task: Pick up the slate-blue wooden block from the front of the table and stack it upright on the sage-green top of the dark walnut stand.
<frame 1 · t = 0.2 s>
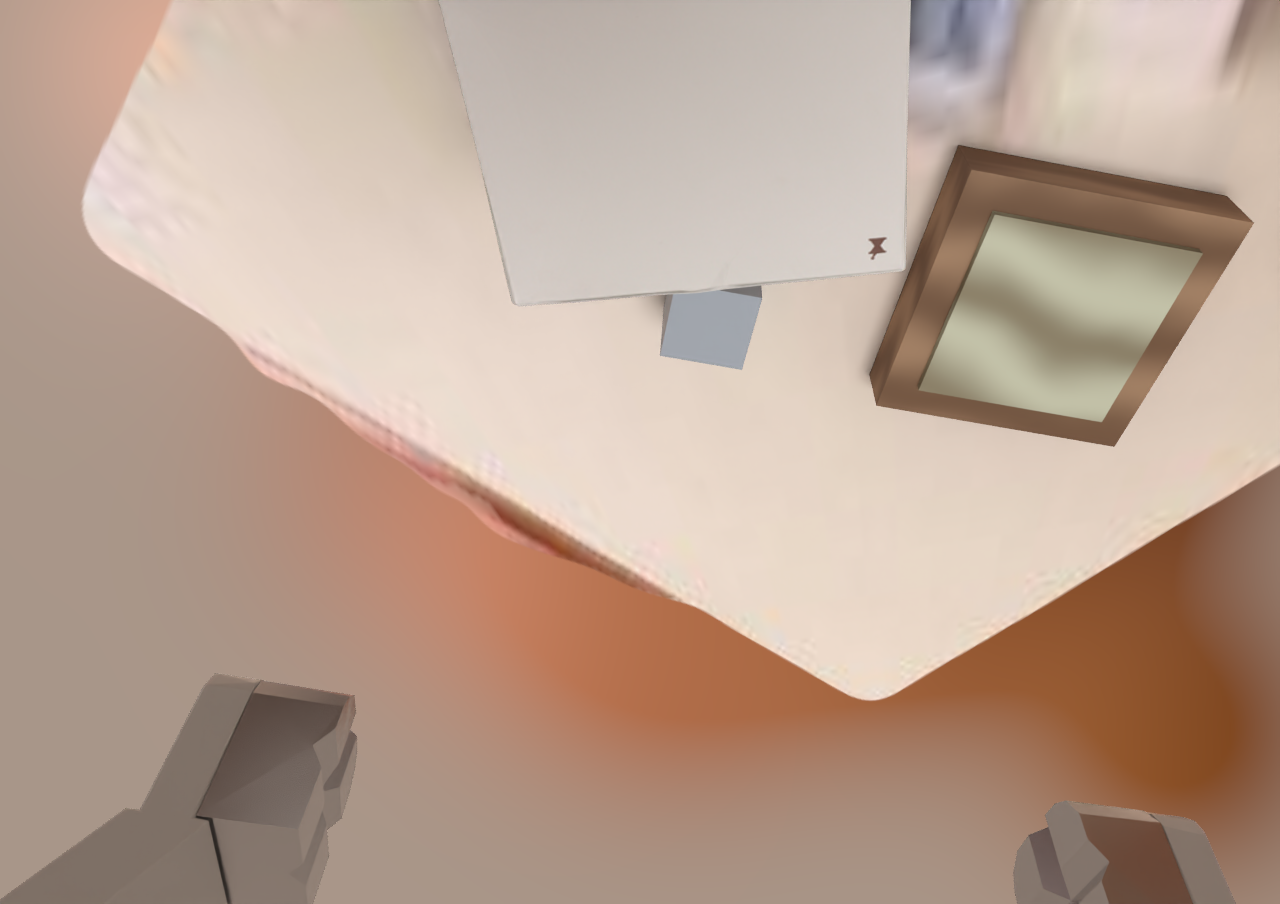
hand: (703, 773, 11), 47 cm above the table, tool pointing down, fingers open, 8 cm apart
slate block: (710, 277, 60), on the table
supplement box: (695, 15, 50), on the table
walnut stand: (1034, 292, 59), on the table
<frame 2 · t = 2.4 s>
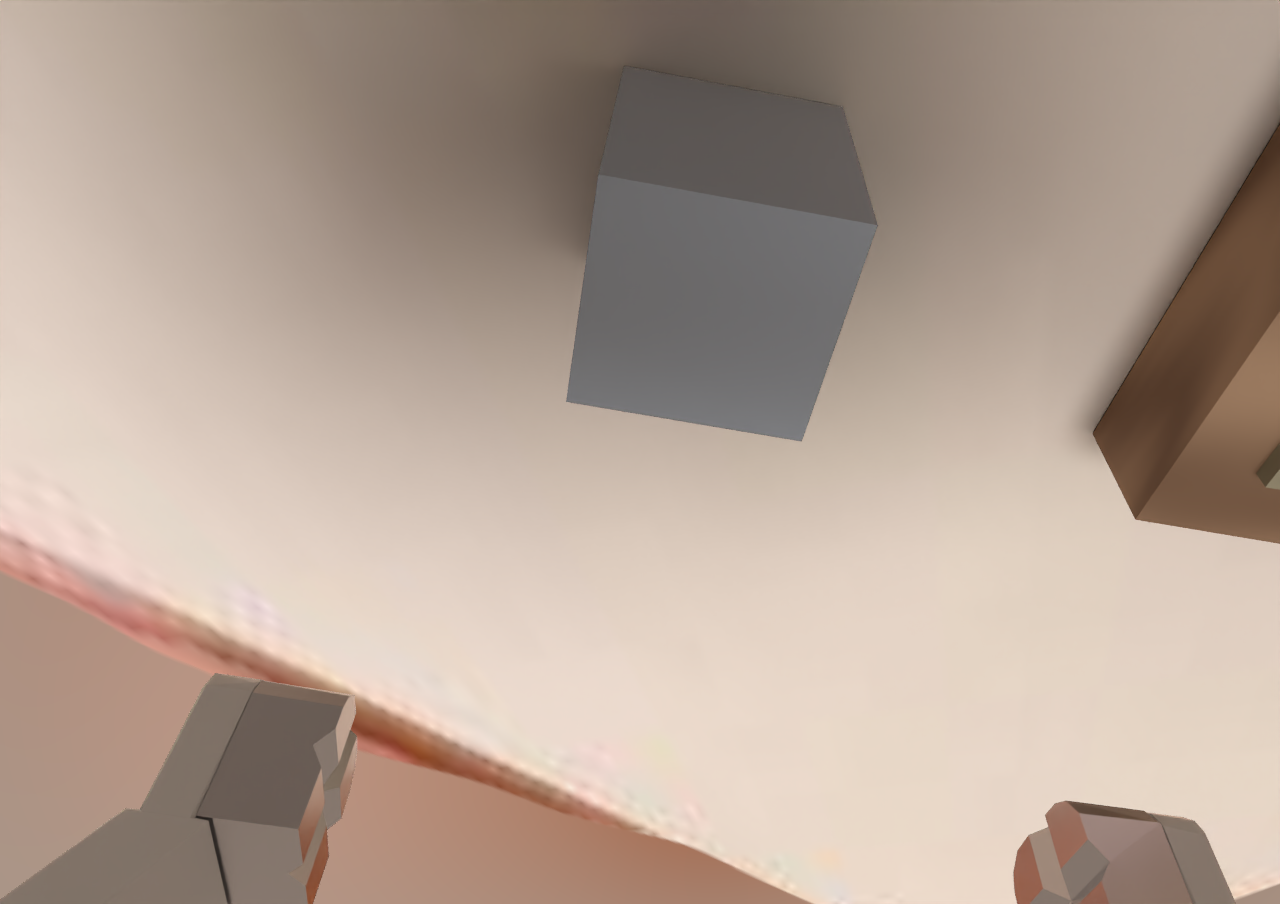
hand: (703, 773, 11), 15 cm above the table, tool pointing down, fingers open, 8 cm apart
slate block: (710, 189, 23), on the table
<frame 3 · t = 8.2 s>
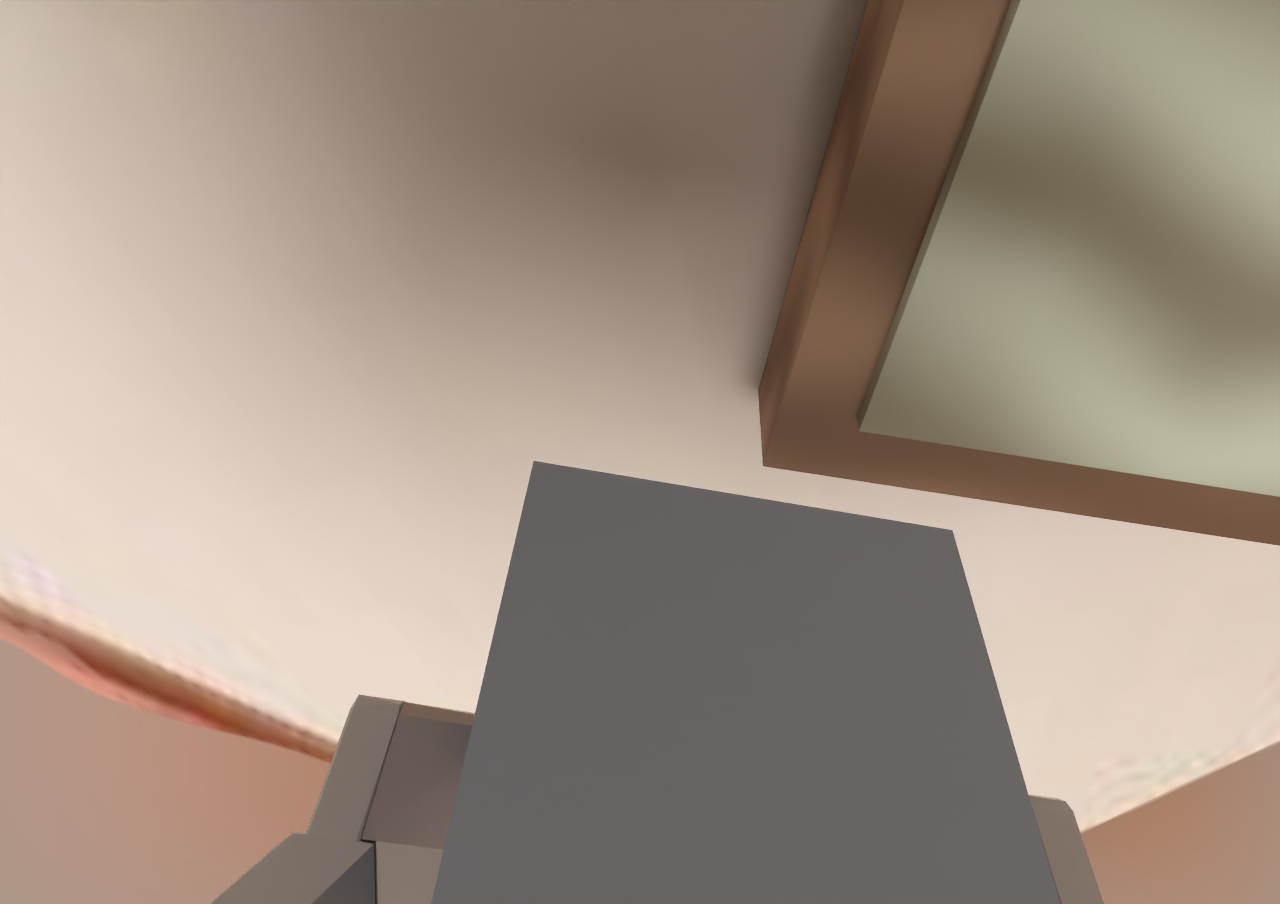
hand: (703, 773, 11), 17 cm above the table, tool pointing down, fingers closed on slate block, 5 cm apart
slate block: (702, 633, 13), point 15 cm above the table, touching gripper
walnut stand: (1143, 183, 24), on the table
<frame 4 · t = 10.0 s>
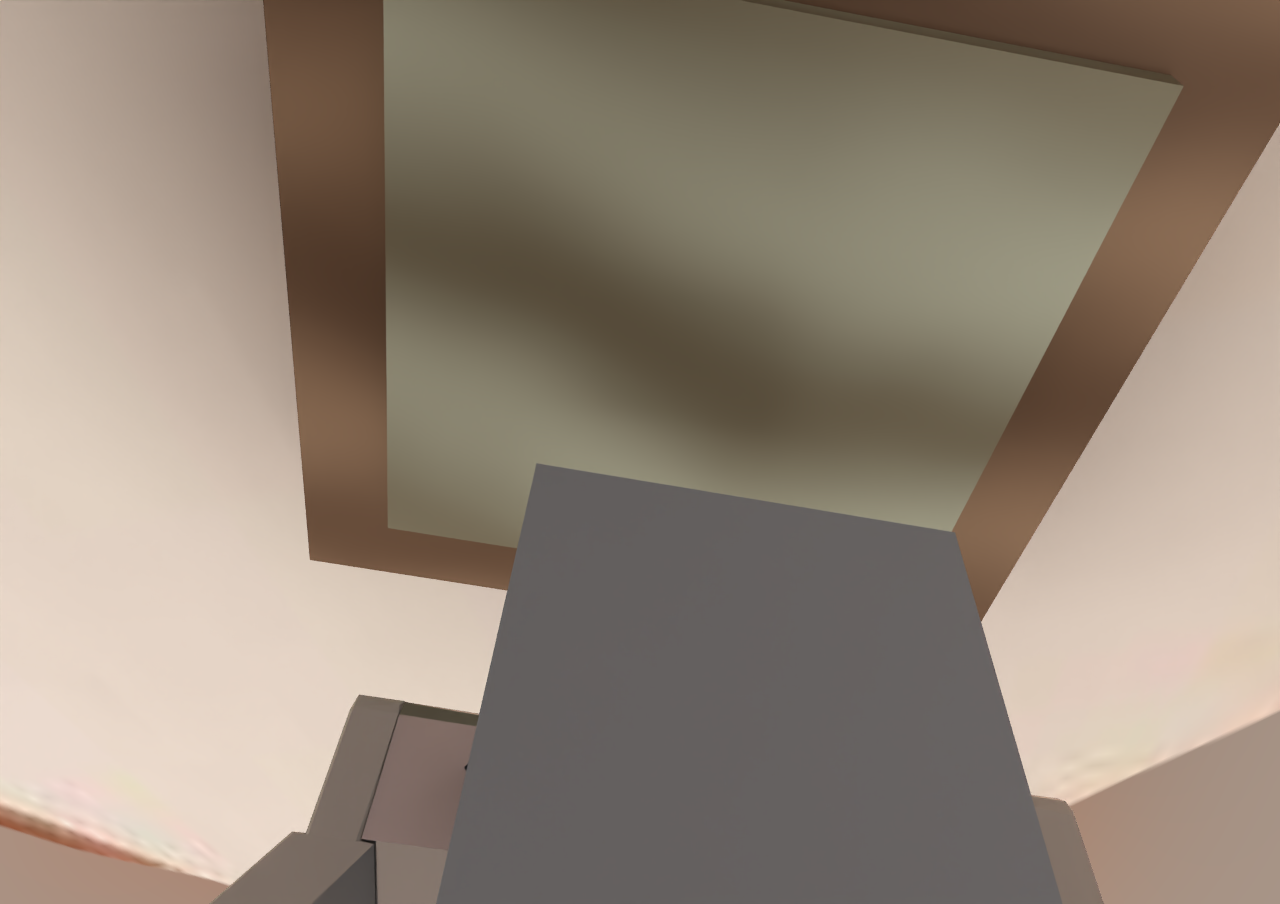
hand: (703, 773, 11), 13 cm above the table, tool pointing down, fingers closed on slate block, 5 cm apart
slate block: (704, 635, 13), point 11 cm above the table, touching gripper
walnut stand: (708, 250, 21), on the table
when the fingers open (8 cm above the table, at t = 11.7 s): slate block drops 1 cm, resting on walnut stand.
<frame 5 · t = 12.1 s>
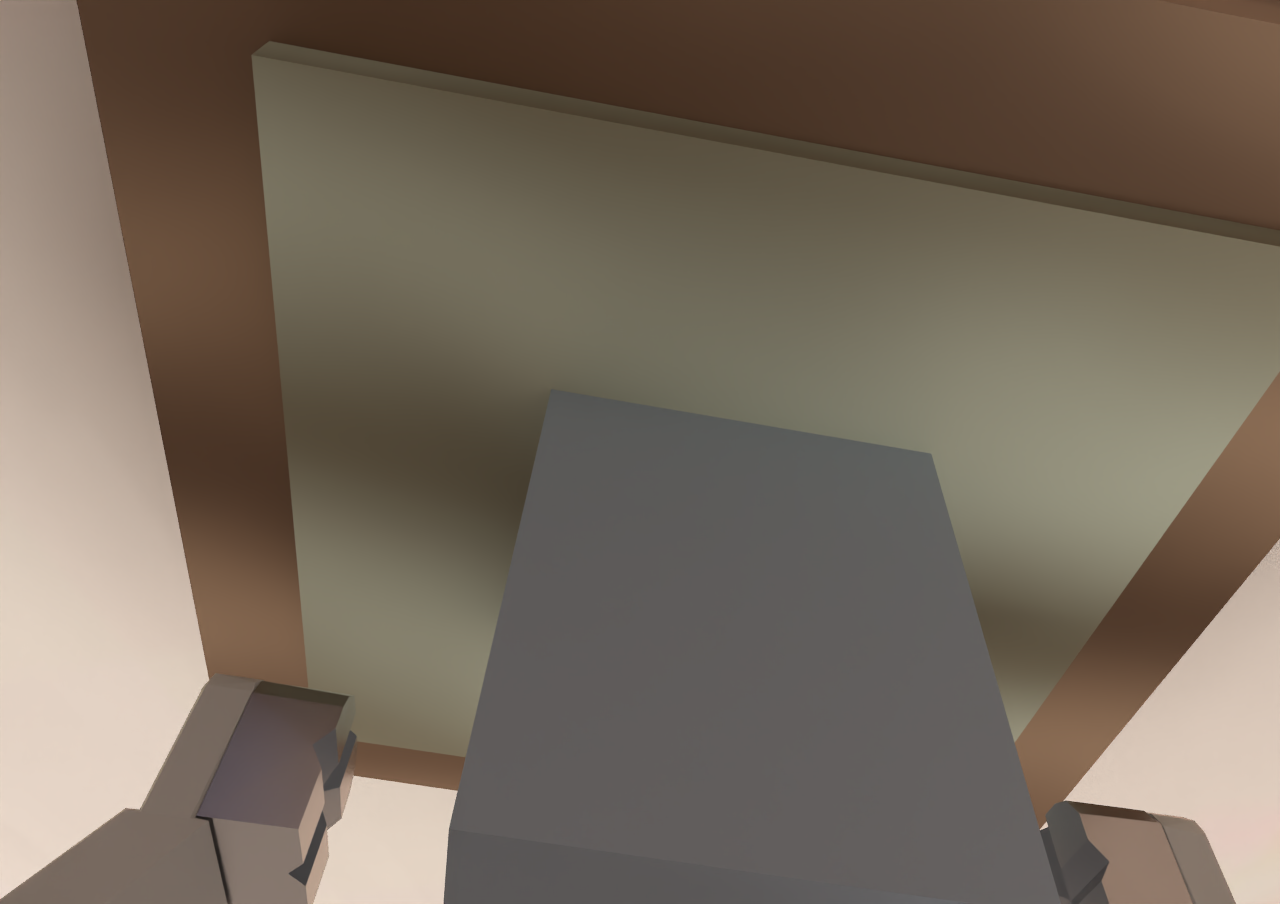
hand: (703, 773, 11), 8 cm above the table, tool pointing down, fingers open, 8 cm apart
slate block: (703, 556, 14), point 4 cm above the table, touching walnut stand
walnut stand: (707, 397, 17), on the table
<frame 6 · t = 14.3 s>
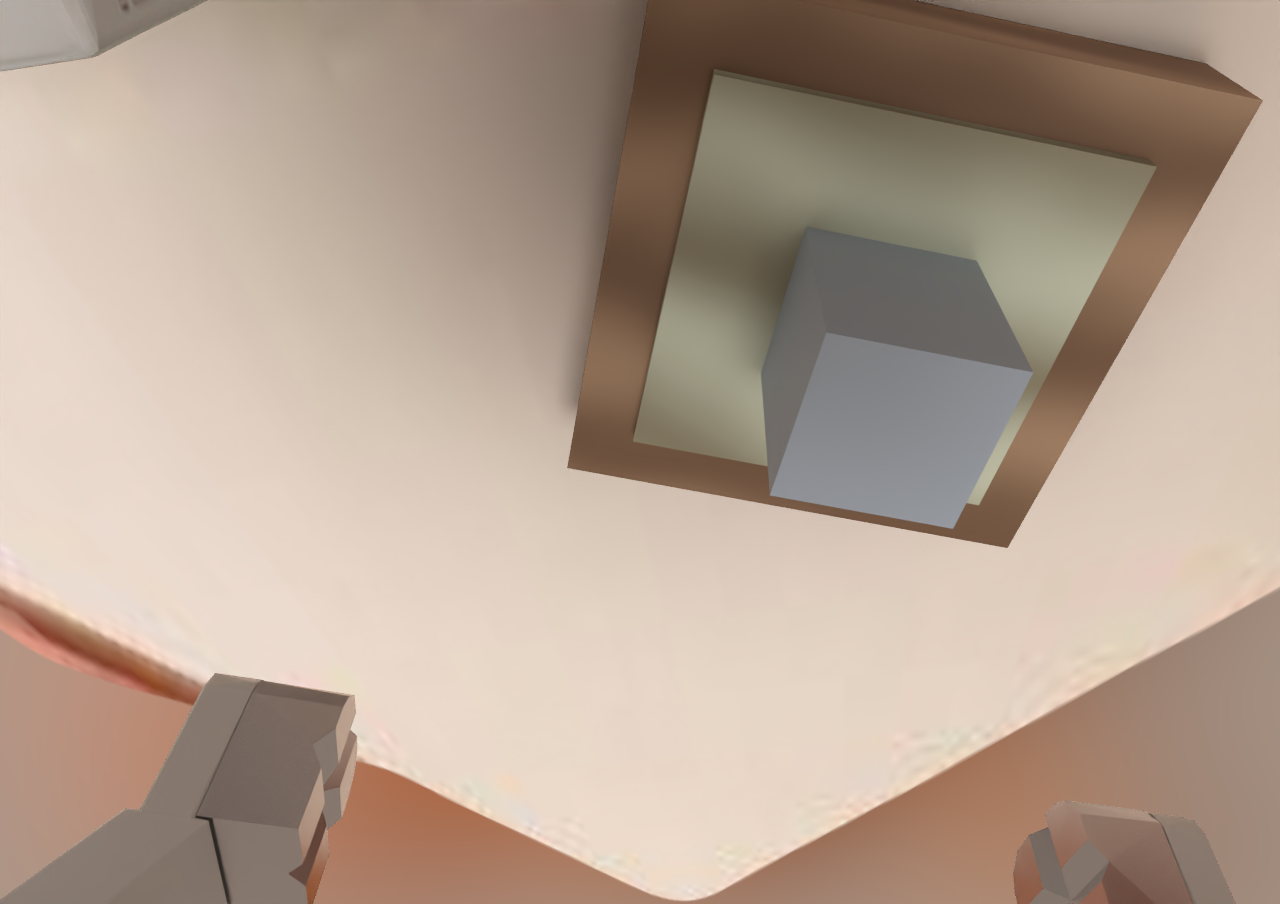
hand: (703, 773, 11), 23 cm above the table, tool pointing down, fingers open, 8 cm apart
slate block: (863, 319, 28), point 4 cm above the table, touching walnut stand
walnut stand: (849, 261, 32), on the table
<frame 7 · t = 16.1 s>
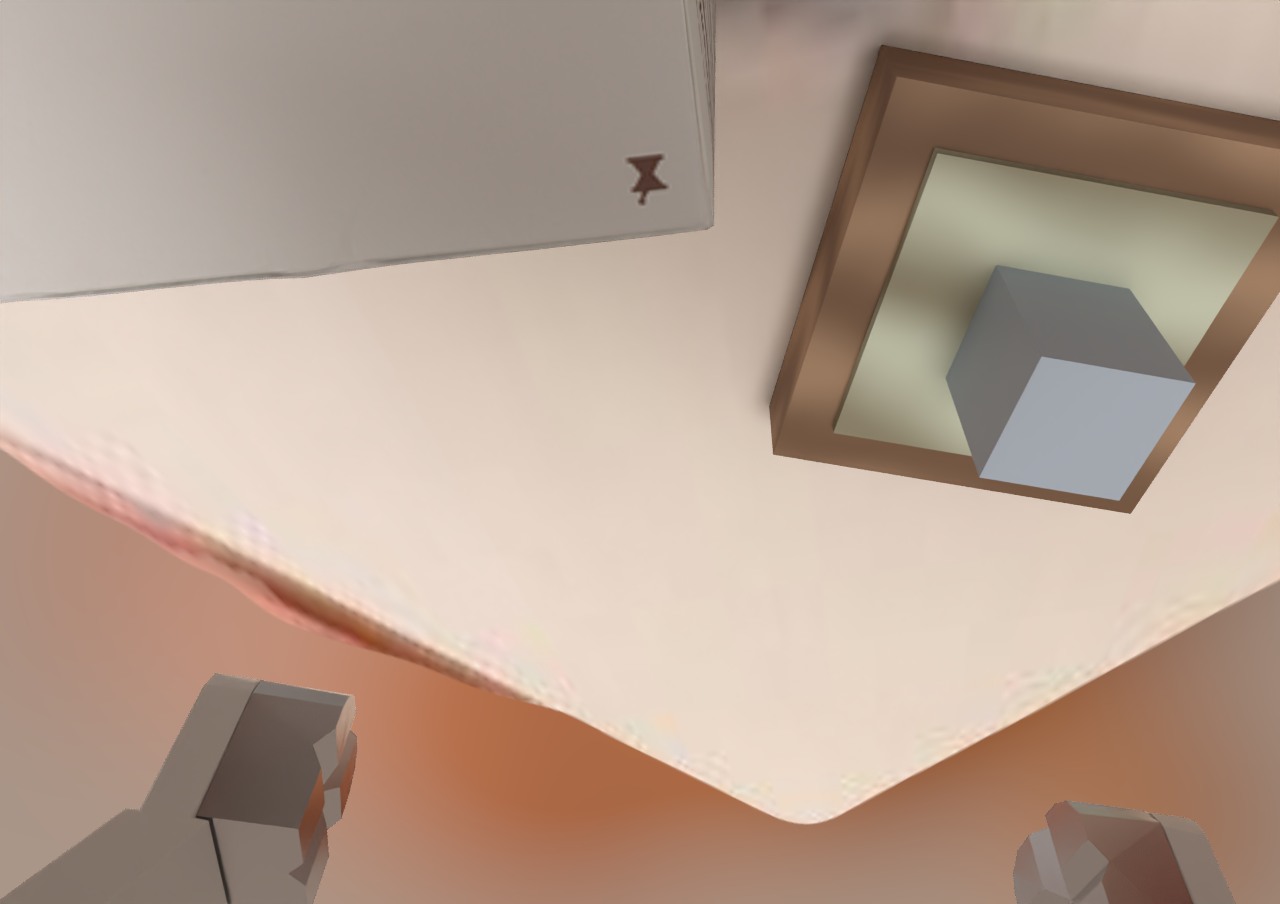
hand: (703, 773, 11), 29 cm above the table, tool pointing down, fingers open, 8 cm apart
slate block: (1033, 335, 36), point 4 cm above the table, touching walnut stand
walnut stand: (1008, 283, 39), on the table
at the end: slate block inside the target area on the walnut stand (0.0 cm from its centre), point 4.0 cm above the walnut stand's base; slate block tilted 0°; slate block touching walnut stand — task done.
